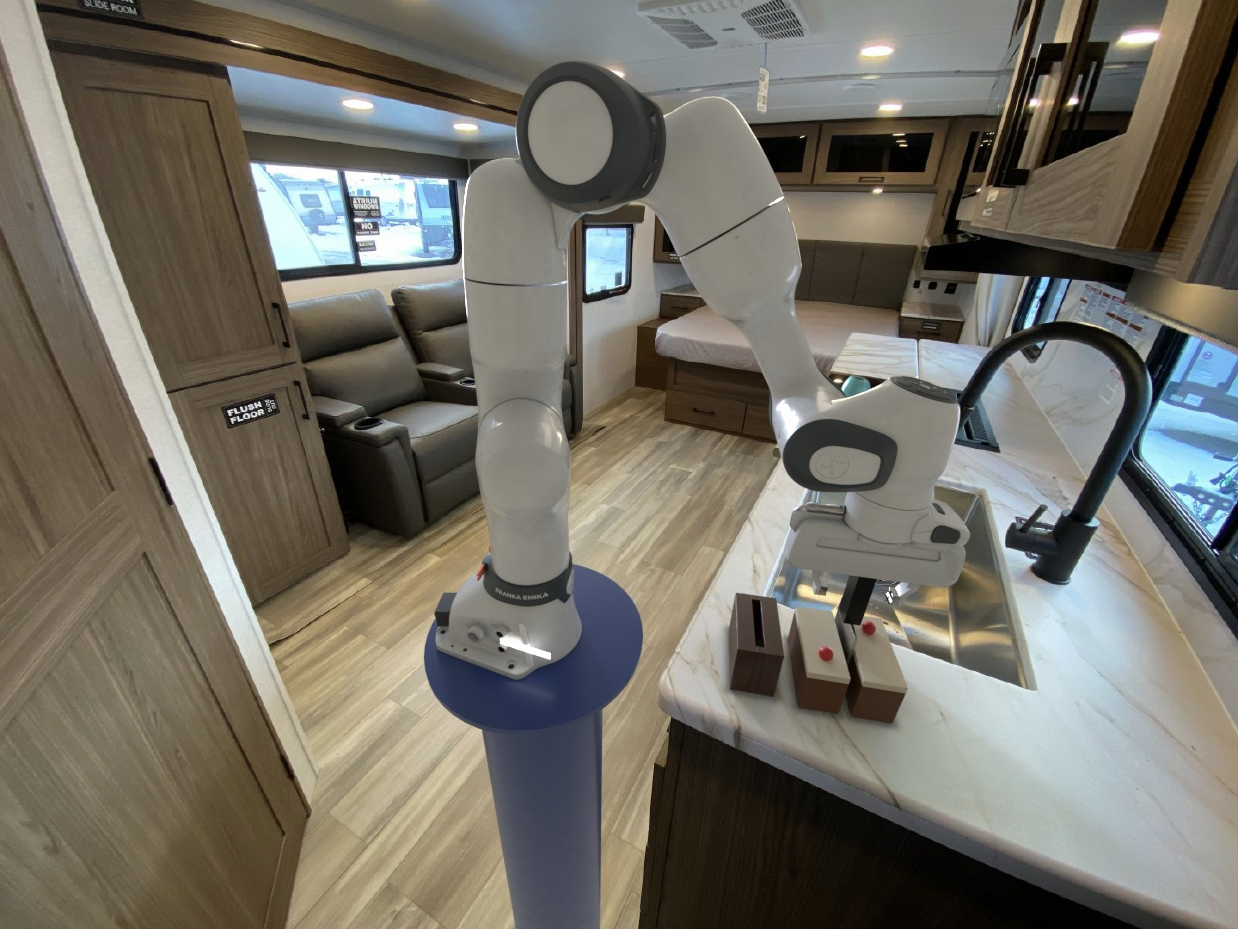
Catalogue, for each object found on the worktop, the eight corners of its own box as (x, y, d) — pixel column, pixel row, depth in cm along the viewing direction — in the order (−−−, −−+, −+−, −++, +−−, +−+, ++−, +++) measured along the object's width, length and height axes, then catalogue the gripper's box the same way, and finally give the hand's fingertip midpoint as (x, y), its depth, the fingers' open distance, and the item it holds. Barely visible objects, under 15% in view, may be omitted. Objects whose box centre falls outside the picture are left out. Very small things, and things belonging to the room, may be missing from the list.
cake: (797, 707, 66) (810, 664, 62) (787, 639, 77) (797, 598, 73) (892, 724, 64) (912, 680, 61) (868, 652, 75) (884, 610, 71)
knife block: (729, 689, 69) (737, 649, 65) (728, 630, 78) (735, 592, 74) (774, 697, 68) (784, 656, 64) (767, 636, 77) (776, 598, 73)
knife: (830, 688, 69) (865, 584, 60) (820, 644, 76) (850, 545, 67) (846, 691, 69) (884, 587, 60) (834, 646, 76) (867, 547, 67)
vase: (861, 429, 151) (877, 373, 142) (867, 445, 141) (885, 385, 133) (821, 424, 154) (835, 369, 145) (825, 439, 144) (839, 380, 135)
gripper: (798, 514, 58) (777, 602, 65) (986, 536, 55) (945, 626, 62) (791, 488, 64) (773, 571, 70) (962, 506, 61) (927, 592, 67)
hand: (855, 597), depth 66 cm, fingers open, 8 cm apart
